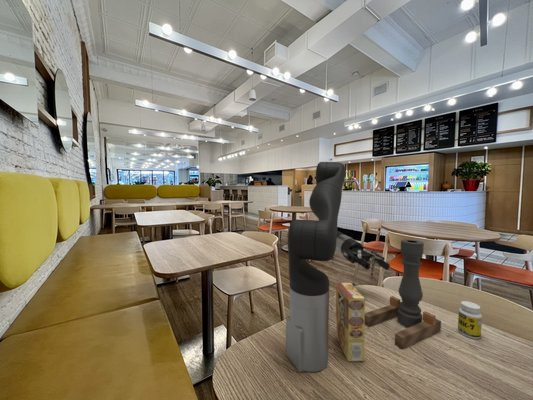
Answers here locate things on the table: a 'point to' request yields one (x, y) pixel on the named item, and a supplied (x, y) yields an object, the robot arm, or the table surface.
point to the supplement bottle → (470, 320)
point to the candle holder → (410, 283)
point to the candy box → (350, 321)
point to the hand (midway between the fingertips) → (379, 267)
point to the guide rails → (409, 334)
